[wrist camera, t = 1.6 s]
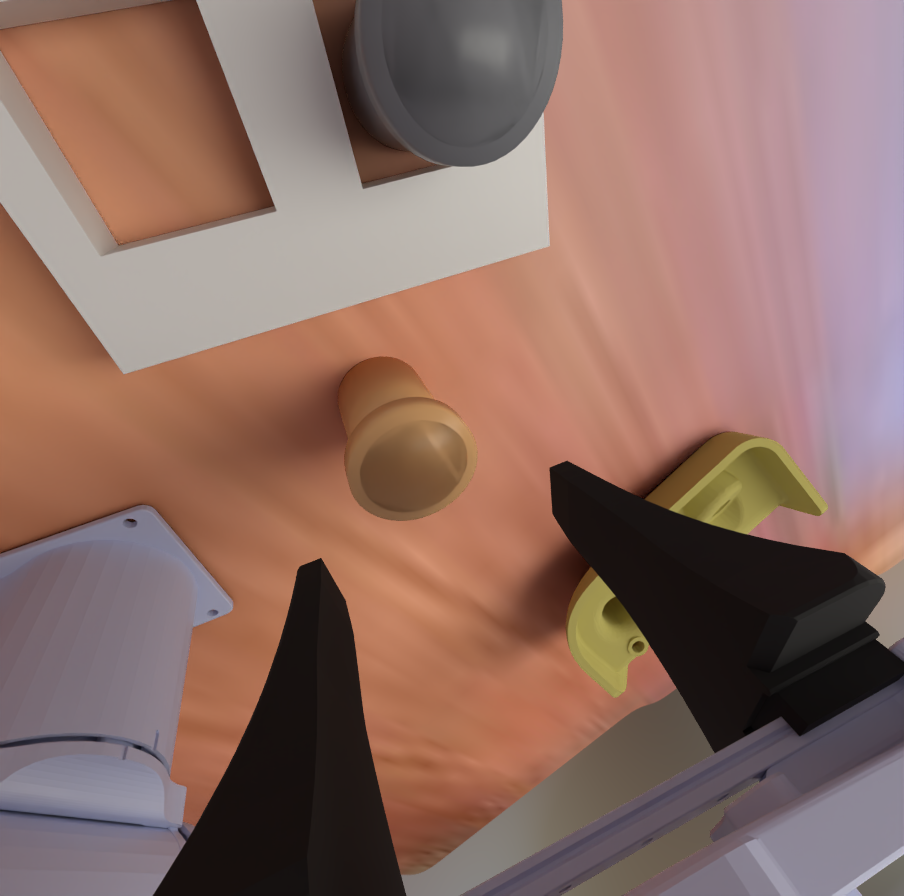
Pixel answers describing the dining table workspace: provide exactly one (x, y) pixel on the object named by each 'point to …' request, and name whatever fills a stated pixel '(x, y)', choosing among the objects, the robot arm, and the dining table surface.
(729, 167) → the dining table surface
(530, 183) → the housing
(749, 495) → the plastic component
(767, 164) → the dining table surface
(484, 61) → the charcoal flared cup
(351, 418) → the tan rubber stopper
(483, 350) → the dining table surface
